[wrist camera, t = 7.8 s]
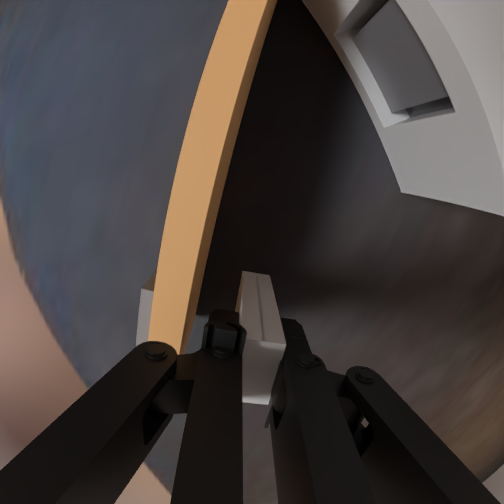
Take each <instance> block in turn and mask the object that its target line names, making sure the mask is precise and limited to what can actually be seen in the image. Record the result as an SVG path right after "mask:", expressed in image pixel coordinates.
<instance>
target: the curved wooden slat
mask: <svg viewBox="0 0 504 504" xmlns="http://www.w3.org/2000/svg"><path fill="white" fill-rule="evenodd" d="M276 3H277V0H229V1H228V4H227V6H226V9H225V12H224V14H223V17H222V19H221V22H220V25H219V28H218V30H217V33H216V36H215V39H214V42H213V44H212V47H211V50H210V53H209V56H208V59H207V62H206V65H205V68H204V71H203V75H202V78H201V81H200V84H199V87H198V91H197V94H196V97H195V101H194V104H193V108H192V111H191V115H190V119H189V122H188V126H187V130H186V133H185V137H184V141H183V145H182V149H181V153H180V157H179V161H178V166H177V170H176V174H175V179H174V183H173V188H172V192H171V197H170V202H169V207H168V211H167V217H166V222H165V227H164V232H163V238H162V243H161V249H160V255H159V261H158V268H157V270H156V271H155V272H154V274H153V275H152V276H151V277H150V279H149V280H148V281H147V282H146V284H145V285H144V286H143V287H142V289H141V298H140V307H139V317H138V327H137V339H136V346H137V345H139V344H141V343H143V342H147V341H160V342H164V343H167V344H169V345H171V346H172V347H173V348H174V349H175V350H176V352H177V355H180V354H185V350H186V347H187V343H188V340H189V336H190V333H191V329H192V326H193V323H194V319H195V315H196V310H197V305H198V300H199V295H200V290H201V285H202V281H203V276H204V271H205V267H206V262H207V258H208V253H209V248H210V244H211V240H212V235H213V231H214V227H215V222H216V218H217V214H218V210H219V205H220V201H221V197H222V193H223V189H224V185H225V181H226V177H227V173H228V169H229V165H230V161H231V157H232V153H233V149H234V146H235V142H236V138H237V134H238V131H239V127H240V123H241V120H242V116H243V112H244V109H245V105H246V101H247V98H248V94H249V91H250V87H251V84H252V81H253V77H254V74H255V70H256V67H257V64H258V60H259V57H260V54H261V50H262V47H263V44H264V41H265V37H266V34H267V31H268V28H269V25H270V22H271V18H272V15H273V12H274V9H275V6H276Z"/></svg>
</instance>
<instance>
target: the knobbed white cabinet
mask: <svg viewBox="0 0 504 504" xmlns="http://www.w3.org/2000/svg"><path fill="white" fill-rule="evenodd" d="M302 2H303V3H304V4H305V6H306V7H307V9H308V10H309V11H310V13H311V14H312V16H313V17H314V19H315V20H316V22H317V23H318V25H319V26H320V28H321V29H322V31H323V32H324V34H325V35H326V37H327V39H328V40H329V42H330V43H331V45H332V47H333V48H334V50H335V52H336V53H337V55H338V57H339V58H340V60H341V62H342V63H343V65H344V67H345V69H346V71H347V72H348V74H349V76H350V78H351V80H352V81H353V83H354V85H355V87H356V89H357V91H358V93H359V95H360V97H361V99H362V101H363V103H364V105H365V107H366V109H367V111H368V113H369V115H370V117H371V119H372V122H373V124H374V126H375V128H376V130H377V133H378V135H379V137H380V139H381V142H382V144H383V146H384V149H385V151H386V154H387V156H388V158H389V161H390V163H391V166H392V169H393V171H394V174H395V176H396V179H397V182H398V185H399V187H400V190H401V192H402V193H407V194H412V195H417V196H422V197H427V198H432V199H436V200H441V201H445V202H450V203H454V204H458V205H462V206H467V207H471V208H475V209H479V210H482V211H486V212H490V213H494V214H497V215H501V216H504V0H302Z"/></svg>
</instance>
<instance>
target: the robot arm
mask: <svg viewBox="0 0 504 504" xmlns="http://www.w3.org/2000/svg"><path fill="white" fill-rule="evenodd" d="M271 396H272V405H271V408H270V411H269V414H268V417H267V420H266V423H265V427H264V428H268V425H269V423H270V428H271V438H272V447H273V457H274V466H275V476H276V485H277V495H278V504H500V502H499V501H498V500H497V499H496V498H495V497H494V496H493V495H492V494H491V493H490V492H489V491H488V490H487V488H486V487H485V486H484V485H483V484H482V483H481V482H480V481H479V480H478V479H477V478H476V477H475V476H474V474H473V473H472V472H471V471H470V470H469V469H468V468H467V467H466V466H465V465H464V464H463V463H462V462H461V461H460V460H459V458H458V457H457V456H456V455H455V454H454V453H453V452H452V451H451V450H450V449H449V448H448V447H447V446H446V445H445V444H444V442H443V441H442V440H441V439H440V438H439V437H438V436H437V435H436V434H435V433H434V432H433V431H432V430H431V429H430V428H429V427H428V426H427V424H426V423H425V422H424V421H423V420H422V419H421V418H420V417H419V416H418V415H417V414H416V413H415V412H414V411H413V410H412V409H411V408H410V407H409V405H408V404H407V403H406V402H405V401H404V400H403V399H402V398H401V397H400V396H399V395H398V394H397V393H396V392H395V391H394V390H393V389H392V388H391V387H390V386H389V384H388V383H387V382H386V381H385V380H384V379H383V378H382V377H381V376H380V375H379V374H378V373H376V372H375V371H373V370H371V369H370V368H367V367H363V366H354V367H351V368H349V369H348V370H347V372H346V375H341V374H338V373H334V372H331V371H328V370H327V369H326V367H325V364H324V362H323V361H322V360H321V359H320V358H319V357H318V356H316V355H314V354H312V353H311V350H310V347H309V344H308V341H307V339H306V336H305V334H304V330H303V327H302V326H301V325H300V324H299V323H298V322H297V321H296V320H293V319H286V318H280V316H279V312H278V307H277V303H276V299H275V295H274V291H273V287H272V283H271V279H270V275H265V274H259V273H253V272H247V271H242V276H241V281H240V287H239V292H238V297H237V302H236V308H235V312H234V311H228V310H222V309H215V310H214V311H212V312H211V313H210V316H209V321H208V322H207V323H206V325H205V326H204V332H203V339H202V347H201V349H200V350H199V351H197V352H195V353H191V354H180V355H177V352H176V350H175V349H174V348H173V347H172V346H171V345H169V344H167V343H164V342H160V341H147V342H143V343H141V344H139V345H137V346H136V347H135V348H134V349H133V350H132V351H131V352H130V353H129V354H127V355H126V356H125V357H124V358H123V359H122V360H121V361H120V362H119V363H117V364H116V365H115V366H114V367H113V368H112V369H111V370H110V371H109V372H108V373H106V374H105V375H104V376H103V377H102V378H101V379H100V380H99V381H98V382H96V383H95V384H94V385H93V386H92V387H91V388H90V389H89V390H88V391H87V392H85V393H84V394H83V395H82V396H81V397H80V398H79V399H78V400H77V401H76V402H74V403H73V404H72V405H71V406H70V407H69V408H68V409H67V410H66V411H65V412H64V413H62V414H61V415H60V416H59V417H58V418H57V419H56V420H55V421H54V422H53V423H51V424H50V425H49V426H48V427H47V428H46V429H45V430H44V431H43V432H42V433H41V434H40V435H38V436H37V437H36V438H35V439H34V440H33V441H32V442H31V443H30V444H29V445H27V446H26V447H25V448H24V449H23V450H22V451H21V452H20V453H19V454H18V455H17V456H16V457H15V458H13V459H12V460H11V461H10V462H9V463H8V464H7V465H6V466H5V467H4V468H3V469H2V470H0V504H114V503H115V502H116V500H117V499H118V497H119V496H120V494H121V493H122V491H123V490H124V489H125V487H126V486H127V484H128V483H129V481H130V479H131V478H132V477H133V476H134V474H135V473H136V471H137V470H138V468H139V467H140V465H141V464H142V462H143V461H144V459H145V458H146V456H147V455H148V453H149V452H150V451H151V449H152V448H153V446H154V445H155V443H156V442H157V440H158V439H159V437H160V436H161V434H162V433H163V431H164V430H165V428H166V427H167V425H168V424H169V422H170V421H171V419H172V417H173V414H179V413H187V418H186V423H185V428H184V433H183V438H182V443H181V448H180V453H179V459H178V464H177V469H176V475H175V480H174V486H173V491H172V497H171V503H170V504H243V441H242V402H247V403H256V404H267V405H268V403H269V400H270V397H271ZM364 417H365V418H366V420H367V421H368V422H369V424H368V426H367V427H366V428H365V427H364V426H363V425H362V424H361V422H362V421H363V419H364Z"/></svg>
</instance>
